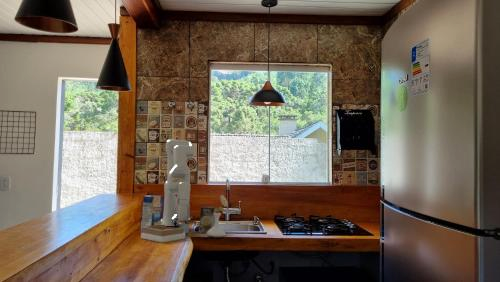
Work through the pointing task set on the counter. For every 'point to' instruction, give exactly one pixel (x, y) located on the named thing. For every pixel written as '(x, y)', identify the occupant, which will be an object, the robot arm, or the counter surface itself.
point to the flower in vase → (216, 230)
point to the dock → (162, 233)
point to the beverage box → (151, 211)
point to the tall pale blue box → (185, 226)
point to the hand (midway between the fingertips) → (180, 231)
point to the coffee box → (206, 219)
